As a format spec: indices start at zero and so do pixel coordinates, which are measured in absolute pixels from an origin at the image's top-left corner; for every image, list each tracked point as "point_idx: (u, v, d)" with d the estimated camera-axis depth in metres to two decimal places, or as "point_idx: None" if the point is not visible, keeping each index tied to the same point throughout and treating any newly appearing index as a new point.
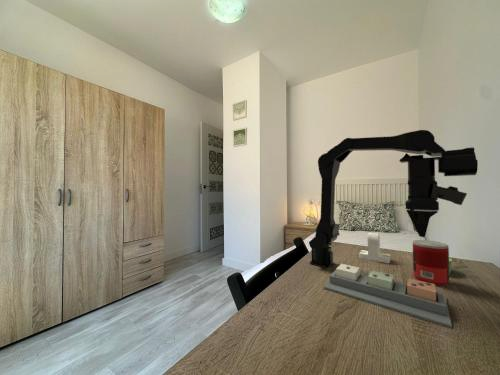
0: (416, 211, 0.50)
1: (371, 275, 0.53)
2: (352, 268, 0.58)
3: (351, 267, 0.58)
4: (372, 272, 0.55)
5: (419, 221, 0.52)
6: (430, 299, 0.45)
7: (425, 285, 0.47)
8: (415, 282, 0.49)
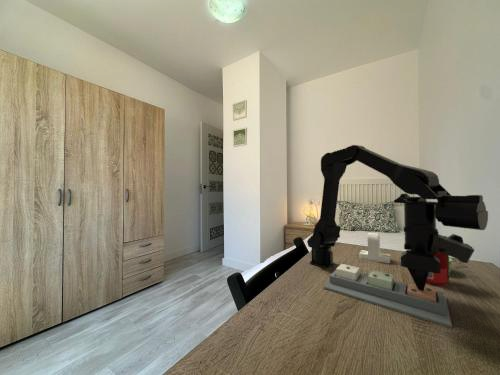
0: None
1: (371, 275, 0.53)
2: (352, 268, 0.58)
3: (351, 267, 0.58)
4: (372, 272, 0.55)
5: (417, 273, 0.47)
6: None
7: (425, 291, 0.47)
8: (415, 287, 0.49)
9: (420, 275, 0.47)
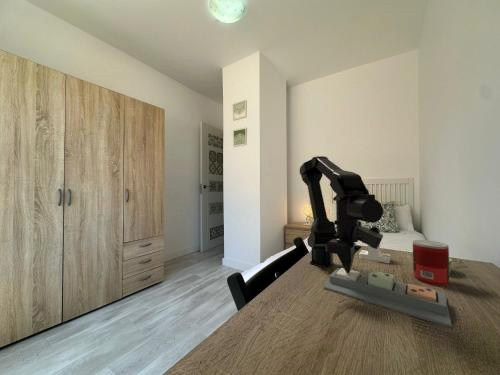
0: None
1: (371, 275, 0.53)
2: (352, 272, 0.58)
3: (351, 271, 0.58)
4: (372, 272, 0.55)
5: (344, 258, 0.57)
6: None
7: (425, 291, 0.47)
8: (415, 288, 0.49)
9: (346, 260, 0.57)
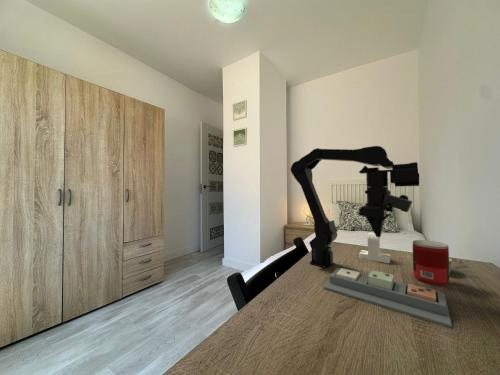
0: (371, 216, 0.62)
1: (371, 275, 0.53)
2: (352, 273, 0.58)
3: (351, 272, 0.58)
4: (372, 272, 0.55)
5: (375, 224, 0.63)
6: None
7: (425, 291, 0.47)
8: (415, 288, 0.49)
9: (377, 225, 0.62)
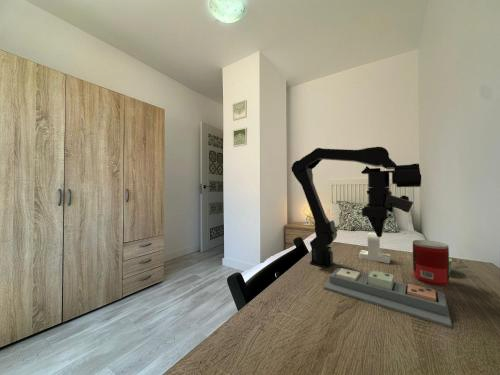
0: None
1: (371, 275, 0.53)
2: (352, 273, 0.58)
3: (351, 272, 0.58)
4: (372, 272, 0.55)
5: (376, 224, 0.63)
6: None
7: (425, 291, 0.47)
8: (415, 288, 0.49)
9: (378, 225, 0.63)
